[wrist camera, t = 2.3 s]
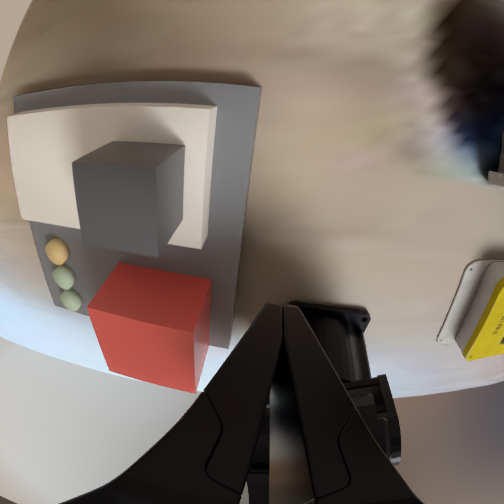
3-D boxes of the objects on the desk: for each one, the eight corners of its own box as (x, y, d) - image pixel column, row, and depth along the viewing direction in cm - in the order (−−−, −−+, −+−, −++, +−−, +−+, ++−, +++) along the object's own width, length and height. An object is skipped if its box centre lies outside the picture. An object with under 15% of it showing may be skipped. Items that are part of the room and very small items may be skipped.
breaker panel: (261, 86, 14) (256, 88, 12) (230, 337, 25) (225, 364, 22) (25, 93, 15) (-2, 101, 12) (61, 297, 25) (46, 316, 23)
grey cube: (185, 145, 13) (155, 167, 10) (182, 219, 16) (158, 257, 13) (112, 141, 14) (71, 162, 11) (116, 210, 16) (83, 243, 13)
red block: (211, 279, 20) (193, 333, 16) (208, 344, 24) (195, 393, 20) (119, 262, 20) (86, 306, 16) (131, 327, 24) (109, 370, 20)
